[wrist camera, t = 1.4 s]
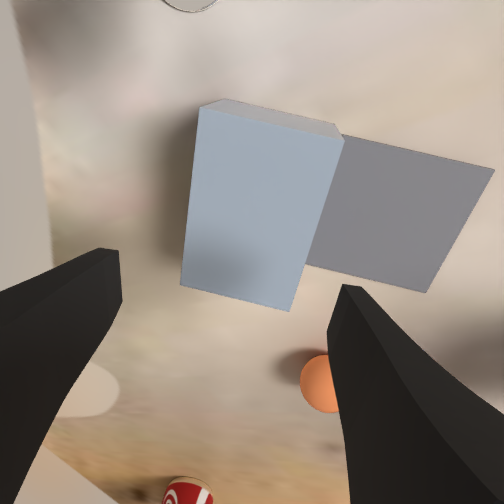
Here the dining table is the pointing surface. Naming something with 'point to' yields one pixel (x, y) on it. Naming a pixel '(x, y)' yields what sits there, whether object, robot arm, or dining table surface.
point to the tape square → (394, 213)
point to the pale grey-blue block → (255, 200)
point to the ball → (319, 385)
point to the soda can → (187, 492)
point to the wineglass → (191, 4)
